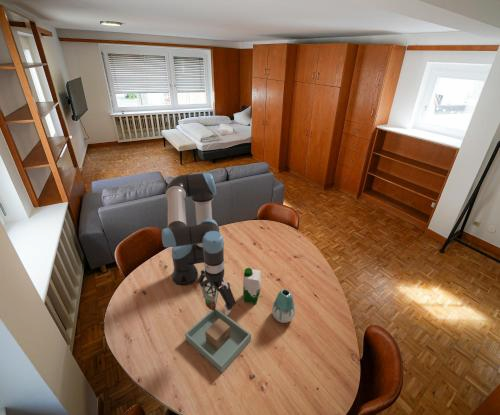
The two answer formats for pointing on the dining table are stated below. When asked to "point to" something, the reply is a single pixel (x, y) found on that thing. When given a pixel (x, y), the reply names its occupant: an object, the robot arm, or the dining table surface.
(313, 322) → the dining table surface
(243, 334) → the tote
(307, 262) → the dining table surface
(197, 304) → the dining table surface
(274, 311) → the vase
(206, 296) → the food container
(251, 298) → the milk carton
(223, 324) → the walnut block
